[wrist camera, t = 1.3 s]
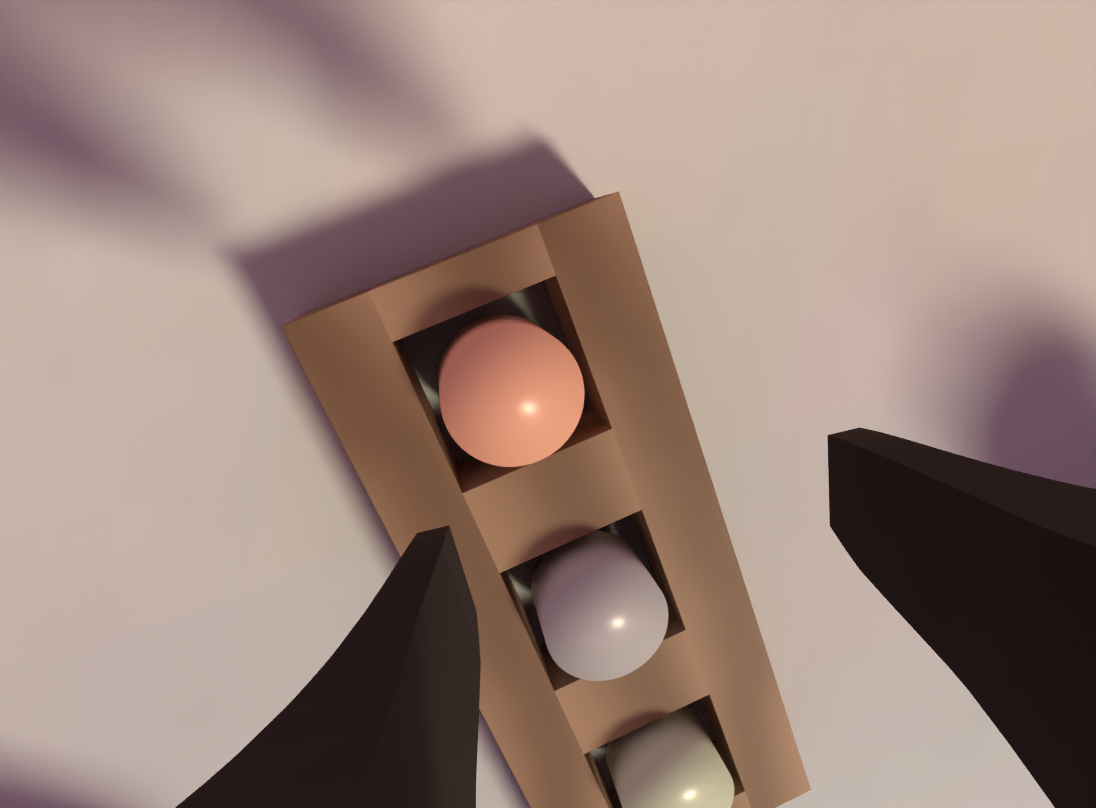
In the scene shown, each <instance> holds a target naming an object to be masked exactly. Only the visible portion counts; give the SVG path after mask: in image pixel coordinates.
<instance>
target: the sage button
mask: <svg viewBox="0 0 1096 808" xmlns="http://www.w3.org/2000/svg"><path fill="white" fill-rule="evenodd" d="M606 760H607V765H608V768H609V771H610V774H611V776H612V779H613V782H614V785H615V788H616V791H617V794H618V796H619V799H620V802H621V805H622V808H731V806H732V803H733V798H734V783H733V779H732V777H731V775H730V773H729V771H728V769H727V768H726V766H725V764H724V762H723V761H722V759H721V757H720V755H719V754H718V752H717V750H716V748H715V747H714V745H713V743H712V742H711V740H710V738H709V736H708V735H707V733H706V731H705V729H704V728H703V726H702V724H701V722H700V721H699V719H698V718H697V716H696V715H695V714H694V713H693V712H692V711H691V710H689V709H688V708H686V707H682V708H680V709H678V710H676V711H673V712H671V713H669V714H667V715H665V716H663V717H661V718H659V719H657V720H655V721H652V722H650V723H648V724H646V725H644V726H642V727H640V728H638V729H636V730H634V731H632V732H629V733H627V734H625V735H623V736H621V737H619V738H617V739H615V740H613V741H611V742H608V745H607V750H606Z"/></svg>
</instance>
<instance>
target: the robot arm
mask: <svg viewBox="0 0 1096 808" xmlns="http://www.w3.org/2000/svg"><path fill="white" fill-rule="evenodd" d="M828 467H829V507H830V527H831V528H832V530H833V531H834V533H835V534H836V536H837V537H838V539H839V540H840V542H841V543H842V545H843V546H844V548H845V549H846V551H847V552H848V554H849V555H850V556H851V558H852V559H853V561H854V562H855V563H856V565H857V566H858V568H859V569H860V570H861V571H862V572H863V574H864V575H865V576H866V577H867V578H868V579H869V580H870V582H871V583H872V584H873V585H874V586H875V587H876V588H877V589H878V590H879V591H880V593H881V594H882V595H883V596H884V597H885V598H886V599H887V600H888V601H889V603H890V604H891V605H892V606H893V607H894V608H895V609H896V610H897V611H898V612H899V613H900V614H901V616H902V617H903V618H904V619H905V620H906V621H907V622H908V623H909V624H910V625H911V626H912V627H913V629H914V630H915V631H916V632H917V633H918V634H919V635H920V636H921V637H922V638H923V639H924V640H925V642H926V643H927V644H928V645H929V646H930V647H931V648H932V649H933V650H934V651H935V652H936V653H937V655H938V656H939V657H940V658H941V659H942V660H943V661H944V662H945V663H946V664H947V665H948V666H949V668H950V669H951V670H952V671H953V672H954V674H955V675H956V676H957V677H958V678H959V679H960V681H961V682H962V683H963V684H964V685H965V686H966V688H967V689H968V690H969V691H970V693H971V694H972V695H973V697H974V698H975V699H976V701H977V702H978V703H979V704H980V706H981V707H982V708H983V710H984V711H985V712H986V714H987V715H988V716H989V718H990V719H991V720H992V722H993V723H994V724H995V726H996V727H997V728H998V730H999V731H1000V732H1001V734H1002V735H1003V736H1004V737H1005V739H1006V740H1007V741H1008V743H1009V744H1010V746H1011V747H1012V748H1013V750H1014V751H1015V752H1016V754H1017V755H1018V757H1019V758H1020V759H1021V761H1022V762H1023V764H1024V765H1025V766H1026V768H1027V769H1028V771H1029V772H1030V773H1031V775H1032V776H1033V778H1034V779H1035V780H1036V782H1037V783H1038V785H1039V786H1040V787H1041V789H1042V790H1043V792H1044V793H1045V794H1046V796H1047V797H1048V798H1049V800H1050V801H1051V803H1052V804H1053V806H1054V807H1055V808H1096V489H1092V488H1086V487H1082V486H1077V485H1072V484H1068V483H1063V482H1059V481H1054V480H1050V479H1046V478H1042V477H1038V476H1034V475H1030V474H1026V473H1022V472H1018V471H1014V470H1010V469H1007V468H1003V467H999V466H996V465H992V464H988V463H985V462H981V461H978V460H974V459H971V458H967V457H964V456H960V455H957V454H953V453H950V452H947V451H943V450H940V449H937V448H933V447H930V446H927V445H923V444H920V443H916V442H913V441H910V440H906V439H903V438H899V437H896V436H892V435H889V434H885V433H881V432H877V431H873V430H868V429H863V428H856V429H852V430H848V431H844V432H839V433H835V434H831V435H828ZM480 672H481V657H480V644H479V632H478V620H477V611H476V608H475V605H474V601H473V598H472V595H471V592H470V589H469V586H468V583H467V579H466V576H465V573H464V570H463V567H462V564H461V561H460V558H459V554H458V551H457V548H456V545H455V542H454V539H453V536H452V533H451V529H450V526H449V525H448V526H444V527H440V528H436V529H432V530H427V531H423V532H419V533H417V534H416V535H415V537H414V538H413V540H412V541H411V542H410V544H409V545H408V547H407V548H406V550H405V552H404V553H403V555H402V556H401V558H400V560H399V561H398V563H397V564H396V566H395V567H394V569H393V571H392V572H391V574H390V575H389V577H388V578H387V580H386V581H385V583H384V585H383V586H382V588H381V589H380V590H379V592H378V593H377V595H376V596H375V598H374V599H373V601H372V602H371V604H370V605H369V607H368V608H367V610H366V611H365V613H364V614H363V615H362V617H361V618H360V619H359V621H358V622H357V623H356V625H355V626H354V627H353V629H352V630H351V631H350V633H349V634H348V635H347V637H346V638H345V639H344V641H343V642H342V643H341V645H340V646H339V647H338V649H337V650H336V651H335V652H334V654H333V655H332V656H331V657H330V659H329V660H328V661H327V662H326V663H325V665H324V666H323V667H322V668H321V669H320V670H319V672H318V673H317V674H316V675H315V676H314V677H313V678H312V679H311V681H310V682H309V683H308V684H307V685H306V686H305V687H304V688H303V689H302V691H301V692H300V693H299V694H298V695H297V696H296V697H295V698H294V699H293V700H292V701H291V702H290V703H289V705H288V706H287V707H286V708H285V709H284V710H283V711H282V712H281V713H280V714H278V715H277V716H276V717H275V718H274V719H273V720H272V721H271V722H270V723H269V724H268V725H267V726H266V727H265V728H264V729H263V730H262V731H261V732H260V733H259V734H258V735H257V736H256V737H255V738H254V739H253V740H252V741H251V742H250V743H249V744H248V745H247V746H246V747H245V748H244V749H243V750H241V751H240V752H239V753H238V754H237V755H236V756H235V757H234V758H233V759H232V760H231V761H230V762H228V763H227V764H226V765H225V766H224V767H223V768H222V769H220V770H219V771H218V772H217V773H216V774H215V775H214V776H212V777H211V778H210V779H209V780H208V781H207V782H206V783H204V784H203V785H202V786H201V787H200V788H198V789H197V790H196V791H195V792H194V793H192V794H191V795H190V796H189V797H188V798H186V799H185V800H184V801H183V802H182V803H180V804H179V805H178V806H177V807H176V808H476V767H477V744H478V722H479V699H480Z"/></svg>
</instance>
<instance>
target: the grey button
mask: <svg viewBox="0 0 1096 808" xmlns="http://www.w3.org/2000/svg"><path fill="white" fill-rule="evenodd" d="M531 589H532V597H533V602H534V605H535V608H536V612H537V615H538V618H539V622H540V625H541V628H542V632H543V635H544V638H545V642H546V645H547V648H548V651H549V653H550V655H551V657H552V659H553V660H554V661H555V662H556V664H557V665H558V666H559V667H560V668H561V669H563V670H564V671H565V672H567V673H568V674H570V675H572V676H574V677H577V678H580V679H584V680H589V681H606V680H612V679H616V678H619V677H622V676H624V675H627V674H629V673H631V672H633V671H635V670H636V669H638V668H639V667H641V666H642V665H643V664H644V663H645V662H647V661H648V660H649V659H650V658H651V657H652V656H653V654H654V653H655V652H656V650H657V649H658V648H659V646H660V644H661V643H662V641H663V638H664V636H665V633H666V630H667V625H668V606H667V603H666V599H665V597H664V595H663V593H662V591H661V590H660V588H659V587H658V585H657V584H656V582H655V581H654V579H653V578H652V576H651V575H650V573H649V572H648V571H647V569H646V568H645V566H644V565H643V563H642V562H641V560H640V559H639V557H638V556H637V554H636V553H635V551H634V550H633V548H632V547H631V546H630V545H629V544H628V543H627V542H626V541H624V540H623V539H622V538H620V537H618V536H616V535H614V534H612V533H608V532H605V531H597V530H595V531H593V532H591V533H588V534H586V535H584V536H582V537H580V538H577V539H575V540H573V541H571V542H568V543H566V544H564V545H562V546H559V547H557V548H555V549H553V550H550V551H548V552H546V553H545V554H544V555H543V556H542V558H541V559H540V560H539V562H538V564H537V566H536V568H535V571H534V574H533V578H532V586H531Z"/></svg>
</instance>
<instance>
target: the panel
mask: <svg viewBox="0 0 1096 808" xmlns="http://www.w3.org/2000/svg"><path fill="white" fill-rule="evenodd" d="M541 281H544V282H545V285H546V287H547V290H548V293H549V295H550V298H551V301H552V303H553V306H554V309H555V312H556V314H557V317H558V320H559V322H560V325H561V328H562V330H563V333H564V336H565V338H566V341H567V344H568V346H569V349H570V352H571V354H572V355H573V357H574V358H575V360H576V362H577V364H578V366H579V368H580V371H581V374H582V378H583V383H584V389H585V392H586V394H587V397H588V400H589V403H590V405H591V409H589V410H587V411H584V412H582V414H581V417H580V420H579V422H578V424H577V426H576V428H575V430H574V432H573V433H572V435H571V436H570V437H569V439H568V440H567V441H566V442H565V443H564V444H563V445H562V446H561V447H560V448H559V449H558V450H557V451H555V452H554V453H552V454H551V455H549V456H548V457H546V458H544V459H542V460H540V461H538V462H535V463H532V464H528V465H524V466H517V467H502V466H496V465H492V464H488V463H485V462H483V461H480V460H478V459H476V458H475V459H472V460H470V461H468V462H465V463H463V464H461V465H458V464H457V462H456V459H455V457H454V455H453V453H452V451H451V448H450V446H449V444H448V442H447V440H446V438H445V435H444V433H443V431H442V429H441V427H440V425H439V422H438V420H437V418H436V416H435V414H434V412H433V409H432V407H431V405H430V403H429V401H428V399H427V396H426V394H425V392H424V390H423V388H422V385H421V383H420V381H419V379H418V377H417V375H416V372H415V370H414V368H413V366H412V364H411V362H410V359H409V357H408V355H407V353H406V351H405V349H404V346H403V344H402V342H401V340H400V339H401V338H404V337H406V336H409V335H411V334H414V333H416V332H419V331H421V330H423V329H426V328H428V327H431V326H433V325H436V324H438V323H441V322H443V321H445V320H448V319H450V318H453V317H455V316H458V315H460V314H463V313H465V312H468V311H470V310H472V309H475V308H477V307H480V306H482V305H485V304H487V303H490V302H492V301H495V300H497V299H499V298H502V297H504V296H507V295H509V294H512V293H514V292H517V291H519V290H521V289H524V288H526V287H529V286H531V285H534V284H536V283H539V282H541ZM281 327H282V329H283V331H284V333H285V335H286V337H287V339H288V341H289V343H290V345H291V347H292V349H293V351H294V353H295V354H296V356H297V358H298V360H299V362H300V364H301V366H302V368H303V370H304V372H305V374H306V376H307V378H308V379H309V381H310V383H311V385H312V387H313V389H314V391H315V393H316V395H317V397H318V399H319V401H320V403H321V405H322V406H323V408H324V410H325V412H326V414H327V416H328V418H329V420H330V422H331V424H332V426H333V428H334V430H335V431H336V433H337V435H338V437H339V439H340V441H341V443H342V445H343V447H344V449H345V451H346V453H347V455H348V457H349V458H350V460H351V462H352V464H353V466H354V468H355V470H356V472H357V474H358V476H359V478H360V480H361V482H362V484H363V485H364V487H365V489H366V491H367V493H368V495H369V497H370V499H371V501H372V503H373V505H374V507H375V509H376V510H377V512H378V514H379V516H380V518H381V520H382V522H383V524H384V526H385V528H386V530H387V532H388V534H389V536H390V537H391V539H392V541H393V543H394V545H395V547H396V549H397V551H398V553H399V555H400V557H401V556H402V555H403V553H404V552H405V550H406V548H407V547H408V545H409V544H410V542H411V541H412V540H413V538H414V537H415V535H416V534H417V533H419V532H423V531H427V530H432V529H436V528H440V527H444V526H448V525H449V526H450V529H451V533H452V536H453V539H454V542H455V545H456V548H457V551H458V554H459V558H460V561H461V564H462V567H463V570H464V573H465V576H466V579H467V583H468V586H469V589H470V592H471V595H472V598H473V601H474V605H475V608H476V611H477V620H478V632H479V644H480V657H481V672H480V699H479V709H480V711H481V713H482V715H483V717H484V719H485V720H486V722H487V724H488V726H489V728H490V730H491V732H492V734H493V736H494V738H495V740H496V742H497V744H498V746H499V747H500V749H501V751H502V753H503V755H504V757H505V759H506V761H507V763H508V765H509V767H510V769H511V771H512V772H513V774H514V776H515V778H516V780H517V782H518V784H519V786H520V788H521V790H522V792H523V794H524V796H525V798H526V799H527V801H528V803H529V805H530V807H531V808H622V805H621V802H620V799H619V796H618V794H617V791H616V790H615V791H613V792H611V793H609V792H608V790H607V787H606V785H605V783H604V781H603V779H602V777H601V774H600V772H599V770H598V768H597V766H596V764H595V761H594V759H593V757H592V755H591V753H590V751H592V750H594V749H596V748H598V747H600V746H602V745H604V744H606V743H608V742H611V741H613V740H615V739H617V738H619V737H621V736H623V735H625V734H627V733H629V732H632V731H634V730H636V729H638V728H640V727H642V726H644V725H646V724H648V723H650V722H652V721H655V720H657V719H659V718H661V717H663V716H665V715H667V714H669V713H671V712H673V711H676V710H678V709H680V708H682V707H684V706H686V705H688V704H690V703H692V702H694V701H696V700H699V699H700V700H701V702H702V705H703V708H704V710H705V713H706V716H707V718H708V721H709V724H710V726H711V729H712V732H713V734H714V737H715V740H716V742H714V743H713V745H714V747H715V748H716V750H717V752H718V754H719V755H720V757H721V759H722V761H723V762H724V764H725V766H726V768H727V769H728V771H729V773H730V775H731V777H732V779H733V783H734V798H733V803H732V806H731V808H775V807H777V806H779V805H781V804H783V803H785V802H787V801H789V800H791V799H793V798H795V797H797V796H799V795H801V794H803V793H805V792H807V791H809V790H811V789H810V786H809V782H808V779H807V776H806V773H805V770H804V767H803V764H802V761H801V758H800V754H799V751H798V748H797V745H796V742H795V739H794V736H793V733H792V730H791V726H790V723H789V720H788V717H787V714H786V711H785V708H784V705H783V702H782V698H781V695H780V692H779V689H778V686H777V683H776V680H775V677H774V673H773V670H772V667H771V664H770V661H769V658H768V655H767V652H766V649H765V645H764V642H763V639H762V636H761V633H760V630H759V627H758V624H757V621H756V617H755V614H754V611H753V608H752V605H751V602H750V599H749V596H748V593H747V589H746V586H745V583H744V580H743V577H742V574H741V571H740V568H739V565H738V561H737V558H736V555H735V552H734V549H733V546H732V543H731V540H730V536H729V533H728V530H727V527H726V524H725V521H724V518H723V515H722V512H721V508H720V505H719V502H718V499H717V496H716V493H715V490H714V487H713V484H712V480H711V477H710V474H709V471H708V468H707V465H706V462H705V459H704V456H703V452H702V449H701V446H700V443H699V440H698V437H697V434H696V431H695V428H694V424H693V421H692V418H691V415H690V412H689V409H688V406H687V403H686V399H685V396H684V393H683V390H682V387H681V384H680V381H679V378H678V375H677V371H676V368H675V365H674V362H673V359H672V356H671V353H670V350H669V347H668V343H667V340H666V337H665V334H664V331H663V328H662V325H661V322H660V319H659V315H658V312H657V309H656V306H655V303H654V300H653V297H652V294H651V290H650V287H649V284H648V281H647V278H646V275H645V272H644V269H643V266H642V262H641V259H640V256H639V253H638V250H637V247H636V244H635V241H634V238H633V234H632V231H631V228H630V225H629V222H628V219H627V216H626V213H625V210H624V206H623V203H622V200H621V197H620V194H619V192H616V193H612V194H609V195H605V196H602V197H598V198H595V199H592V200H590V201H587V202H585V203H582V204H580V205H577V206H575V207H572V208H570V209H567V210H565V211H562V212H560V213H557V214H555V215H552V216H550V217H547V218H545V219H542V220H540V221H537V222H535V223H532V224H530V225H527V226H525V227H522V228H520V229H517V230H515V231H512V232H510V233H507V234H505V235H502V236H500V237H497V238H495V239H492V240H490V241H487V242H485V243H482V244H480V245H477V246H475V247H472V248H470V249H467V250H465V251H462V252H460V253H457V254H454V255H452V256H449V257H447V258H444V259H442V260H439V261H437V262H434V263H432V264H429V265H427V266H424V267H422V268H419V269H417V270H414V271H412V272H409V273H407V274H404V275H402V276H399V277H397V278H394V279H392V280H389V281H387V282H384V283H382V284H379V285H377V286H374V287H372V288H369V289H367V290H364V291H362V292H359V293H357V294H354V295H352V296H349V297H347V298H344V299H342V300H339V301H337V302H334V303H332V304H329V305H327V306H324V307H322V308H319V309H317V310H314V311H312V312H309V313H307V314H304V315H302V316H299V317H297V318H296V319H294V320H292V321H290V322H289V323H287V324H285V325H283V326H281ZM629 515H632V518H633V520H634V523H635V526H636V528H637V531H638V534H639V536H640V539H641V542H642V544H643V547H644V550H645V552H646V555H647V558H648V560H649V563H650V566H651V568H652V571H653V574H654V577H655V579H656V582H657V585H658V587H659V588H660V590H661V591H662V593H663V595H664V597H665V599H666V603H667V606H668V625H667V630H666V633H665V636H664V638H663V641H662V643H661V644H660V646H659V648H658V649H657V650H656V652H655V653H654V654H653V656H652V657H651V658H650V659H649V660H648V661H647V662H645V663H644V664H643V665H642V666H641V667H639V668H638V669H636V670H635V671H633V672H631V673H629V674H627V675H624V676H622V677H619V678H616V679H612V680H606V681H589V680H584V679H580V678H577V677H574V676H572V675H570V674H568V673H567V672H565V671H564V670H563V669H561V668H560V667H559V666H558V665H557V664H556V662H555V661H554V660H553V659H552V657H551V655H550V653H549V651H548V648H547V645H546V644H545V645H543V646H541V644H540V642H539V640H538V638H537V635H536V633H535V631H534V629H533V627H532V625H531V622H530V620H529V618H528V616H527V614H526V611H525V609H524V607H523V605H522V603H521V601H520V598H519V596H518V594H517V592H516V590H515V588H514V585H513V583H512V581H511V579H510V577H509V575H508V572H507V570H508V569H510V568H512V567H515V566H517V565H519V564H521V563H523V562H526V561H528V560H530V559H532V558H535V557H537V556H539V555H541V554H544V553H546V552H548V551H550V550H553V549H555V548H557V547H559V546H562V545H564V544H566V543H568V542H571V541H573V540H575V539H577V538H580V537H582V536H584V535H586V534H588V533H591V532H593V531H595V530H597V529H600V528H602V527H604V526H606V525H609V524H611V523H613V522H615V521H618V520H620V519H622V518H624V517H627V516H629Z"/></svg>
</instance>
